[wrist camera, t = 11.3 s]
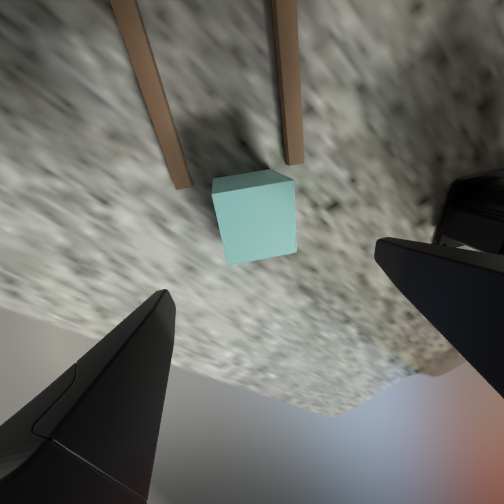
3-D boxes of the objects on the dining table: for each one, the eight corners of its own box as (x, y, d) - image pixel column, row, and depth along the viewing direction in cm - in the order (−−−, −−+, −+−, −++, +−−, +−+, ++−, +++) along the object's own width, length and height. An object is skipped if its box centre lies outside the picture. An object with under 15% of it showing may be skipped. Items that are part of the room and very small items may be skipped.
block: (270, 169, 14) (294, 180, 10) (275, 222, 16) (296, 252, 12) (212, 178, 14) (211, 194, 10) (224, 232, 16) (227, 265, 12)
